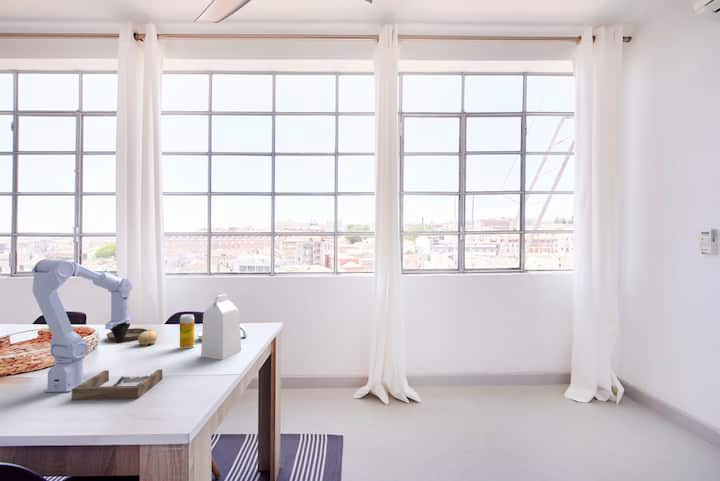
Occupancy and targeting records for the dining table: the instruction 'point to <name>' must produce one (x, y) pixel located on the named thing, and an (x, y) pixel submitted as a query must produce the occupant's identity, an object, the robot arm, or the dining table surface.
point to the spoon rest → (240, 328)
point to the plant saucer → (128, 334)
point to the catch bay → (113, 388)
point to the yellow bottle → (186, 331)
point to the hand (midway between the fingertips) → (119, 342)
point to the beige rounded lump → (147, 337)
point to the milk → (221, 329)
